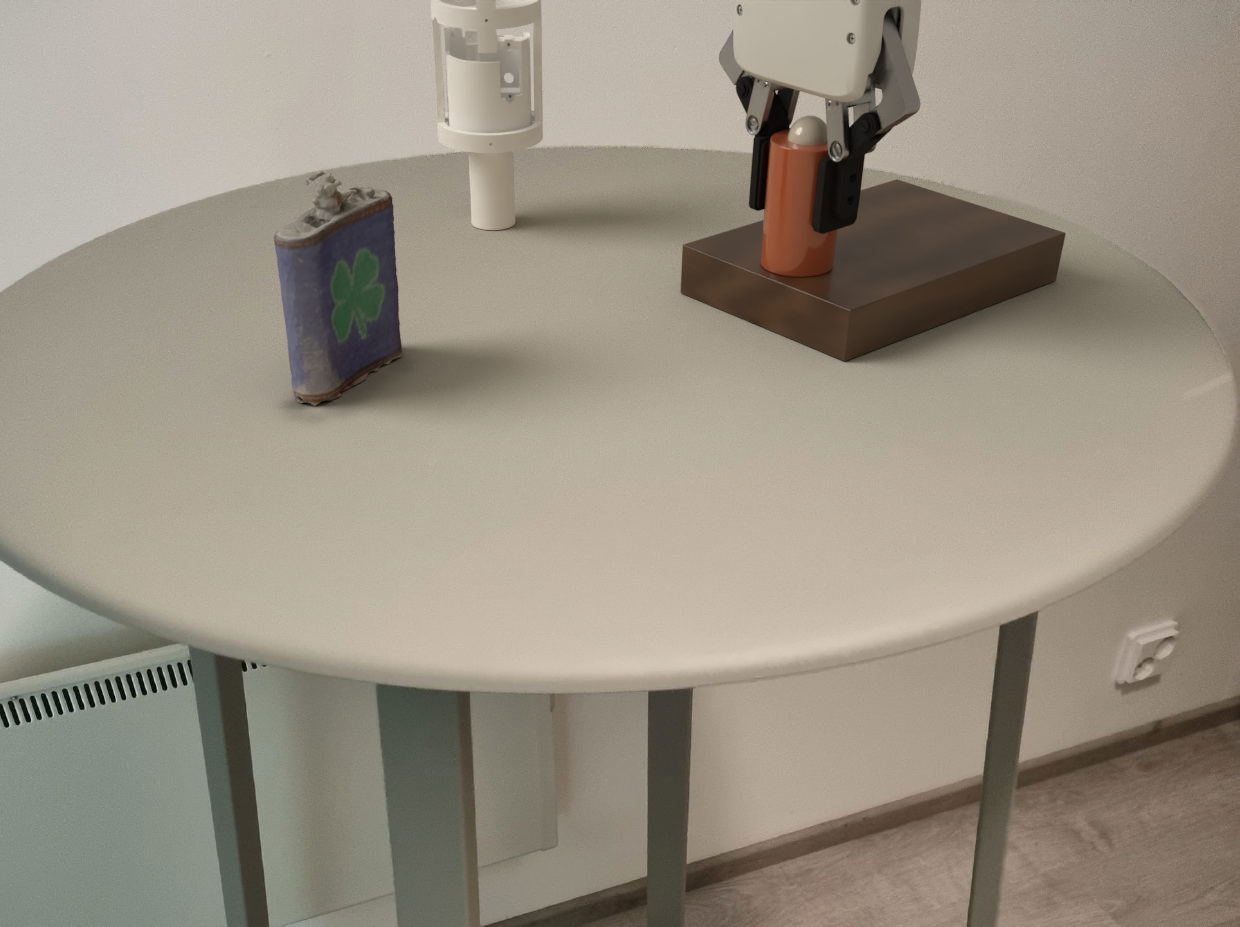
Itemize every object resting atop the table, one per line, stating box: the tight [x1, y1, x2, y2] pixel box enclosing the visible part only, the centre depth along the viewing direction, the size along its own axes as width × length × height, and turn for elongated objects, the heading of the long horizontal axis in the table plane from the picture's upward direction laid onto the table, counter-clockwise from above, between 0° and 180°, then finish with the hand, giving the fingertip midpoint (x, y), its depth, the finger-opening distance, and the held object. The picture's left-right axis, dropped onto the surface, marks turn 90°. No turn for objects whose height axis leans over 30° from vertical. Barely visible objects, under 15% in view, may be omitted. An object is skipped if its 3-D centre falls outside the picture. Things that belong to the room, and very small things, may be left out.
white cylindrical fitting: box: [429, 0, 544, 231], centre depth 100 cm, size 7×7×15 cm
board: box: [680, 179, 1067, 362], centre depth 95 cm, size 14×20×3 cm
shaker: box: [760, 115, 838, 277], centre depth 88 cm, size 4×4×8 cm
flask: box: [273, 170, 403, 406], centre depth 82 cm, size 9×3×11 cm, turn 151°
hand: (802, 213), depth 89 cm, fingers closed on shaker, 4 cm apart
